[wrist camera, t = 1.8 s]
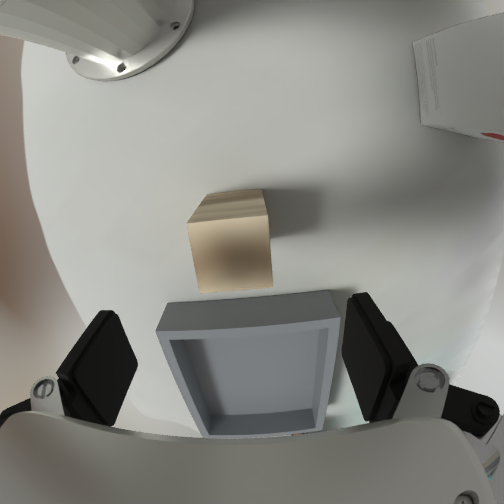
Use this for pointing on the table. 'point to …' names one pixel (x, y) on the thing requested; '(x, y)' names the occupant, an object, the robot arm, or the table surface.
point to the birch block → (231, 242)
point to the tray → (253, 362)
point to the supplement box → (463, 78)
